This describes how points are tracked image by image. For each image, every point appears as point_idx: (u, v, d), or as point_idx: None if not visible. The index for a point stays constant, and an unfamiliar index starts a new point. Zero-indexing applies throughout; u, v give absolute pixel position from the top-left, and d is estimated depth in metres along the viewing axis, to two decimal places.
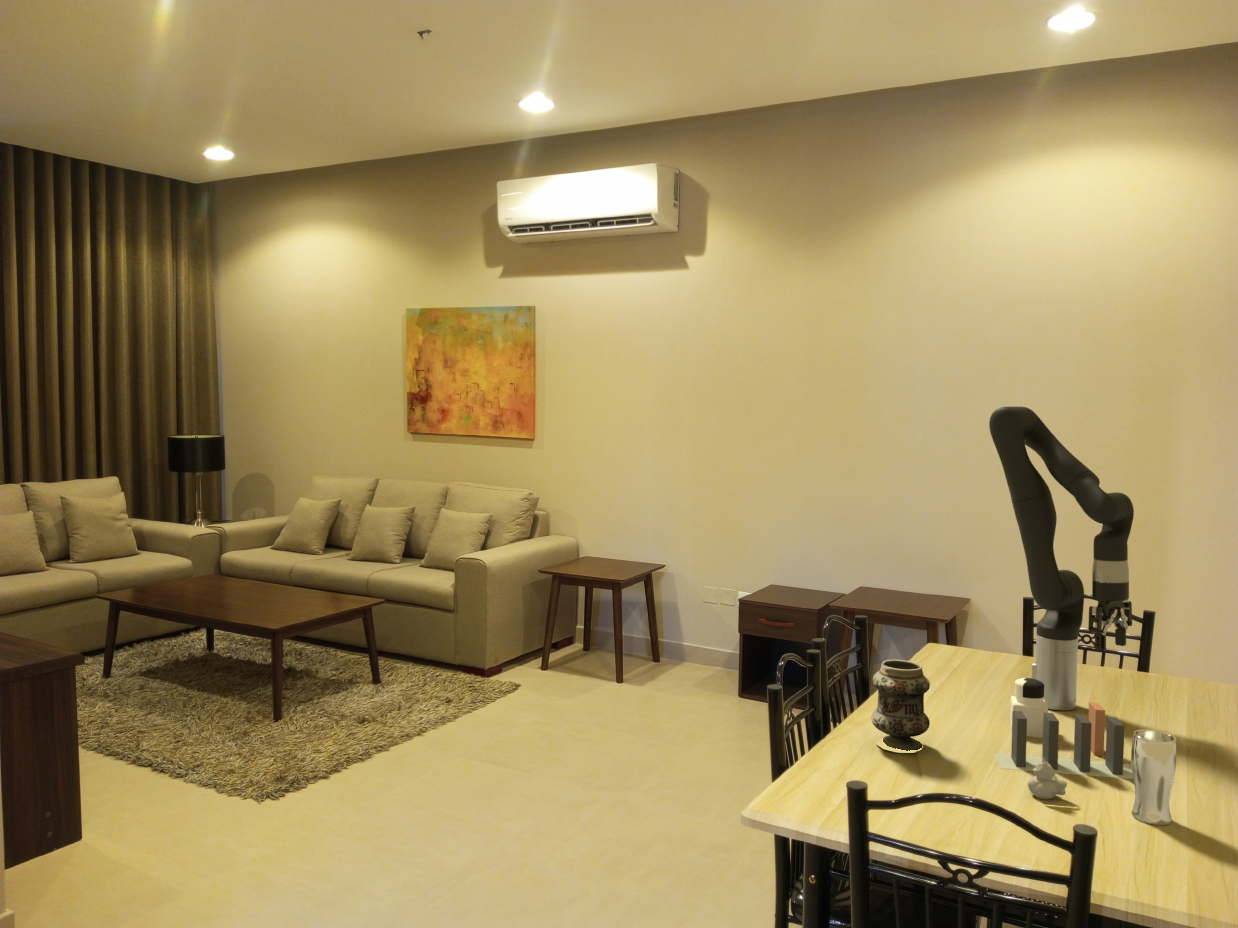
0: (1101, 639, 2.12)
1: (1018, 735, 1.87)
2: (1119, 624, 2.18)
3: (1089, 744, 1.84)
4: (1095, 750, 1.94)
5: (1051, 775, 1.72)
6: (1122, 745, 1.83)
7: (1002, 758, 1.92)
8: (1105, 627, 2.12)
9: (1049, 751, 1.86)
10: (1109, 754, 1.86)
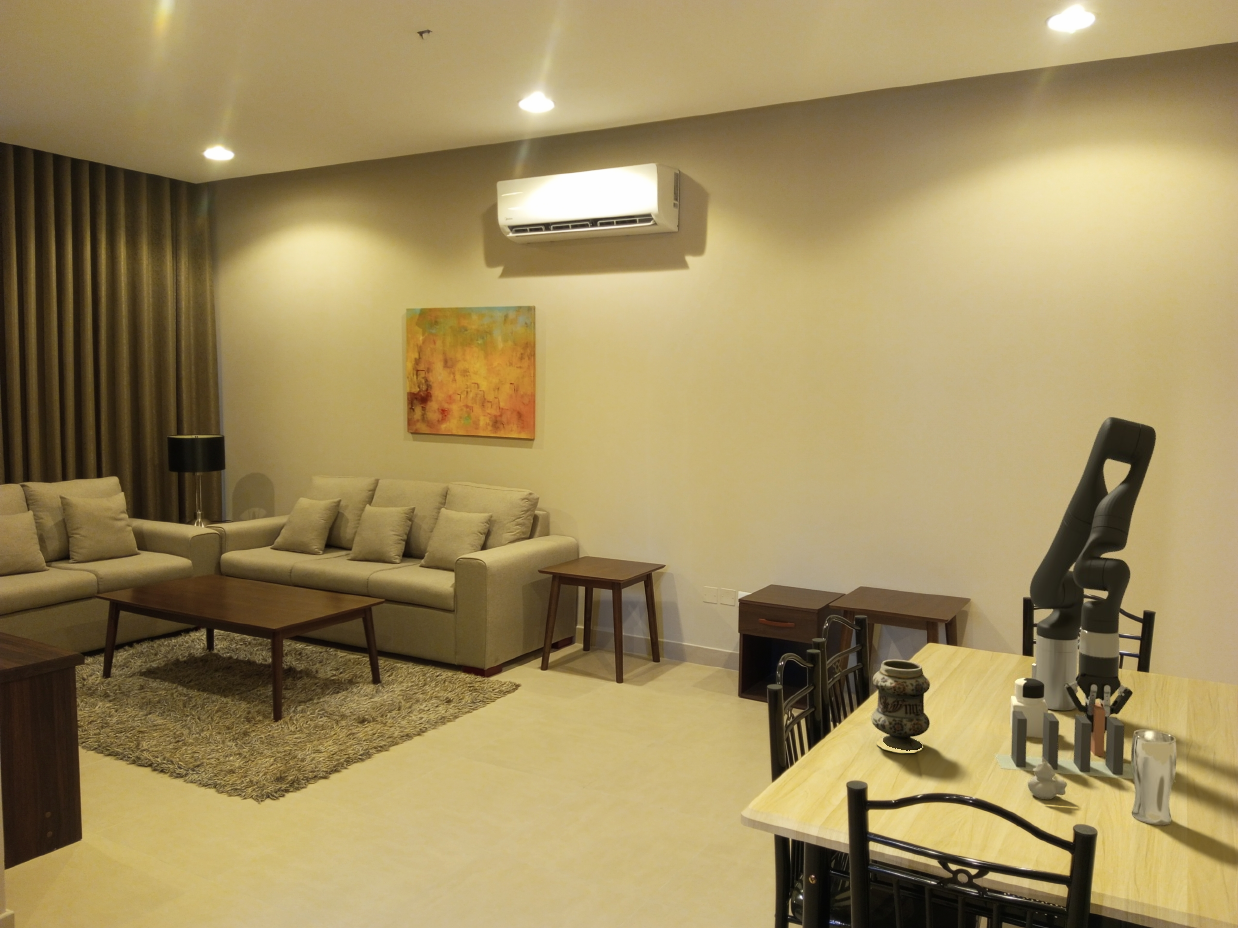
0: None
1: (1018, 735, 1.87)
2: None
3: (1089, 744, 1.84)
4: (1095, 750, 1.94)
5: (1051, 775, 1.72)
6: (1122, 745, 1.83)
7: (1002, 758, 1.92)
8: None
9: (1049, 751, 1.86)
10: (1109, 754, 1.86)
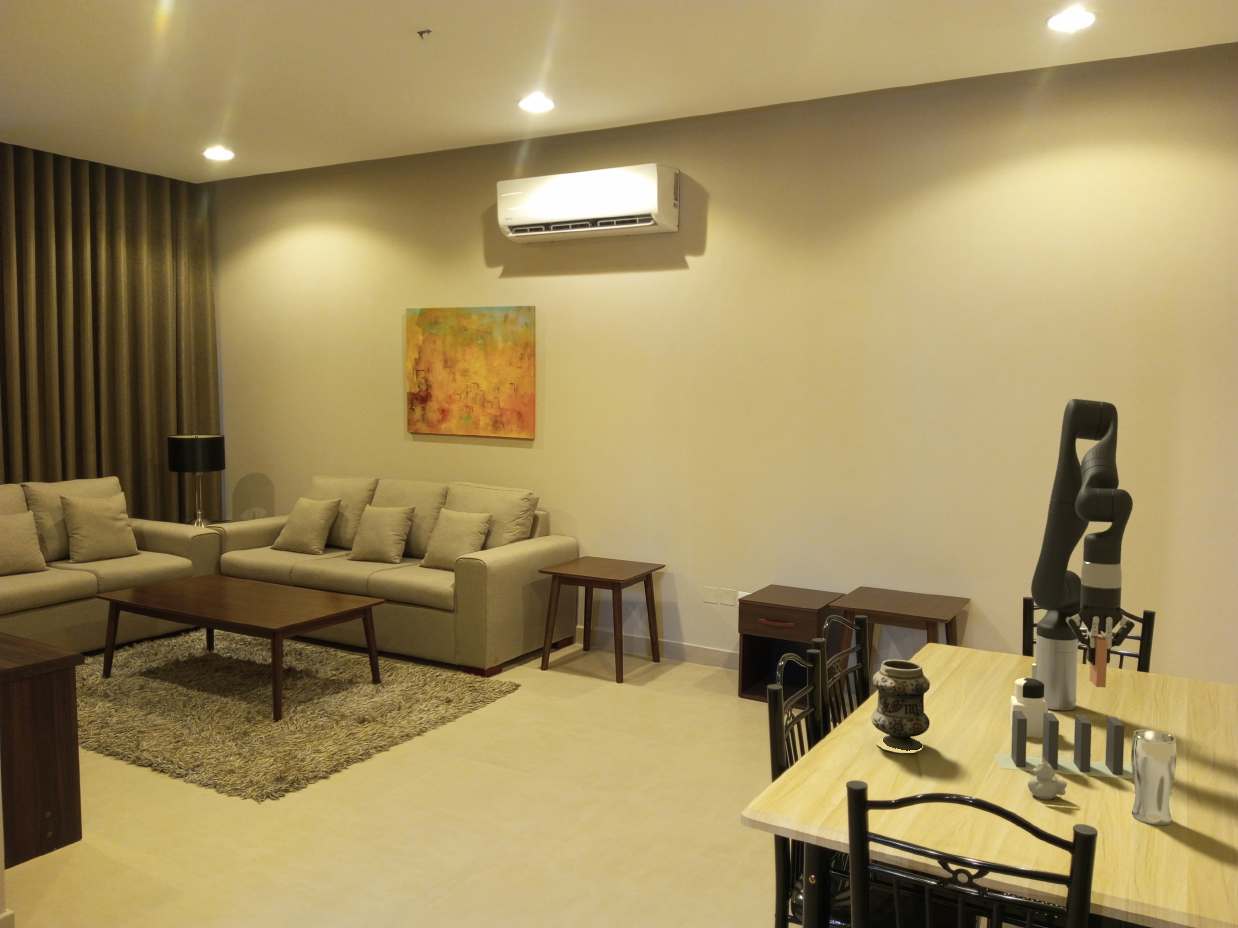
0: None
1: (1018, 735, 1.87)
2: None
3: (1089, 744, 1.84)
4: (1097, 680, 1.93)
5: (1051, 775, 1.72)
6: (1122, 745, 1.83)
7: (1002, 758, 1.92)
8: None
9: (1049, 751, 1.86)
10: (1109, 754, 1.86)
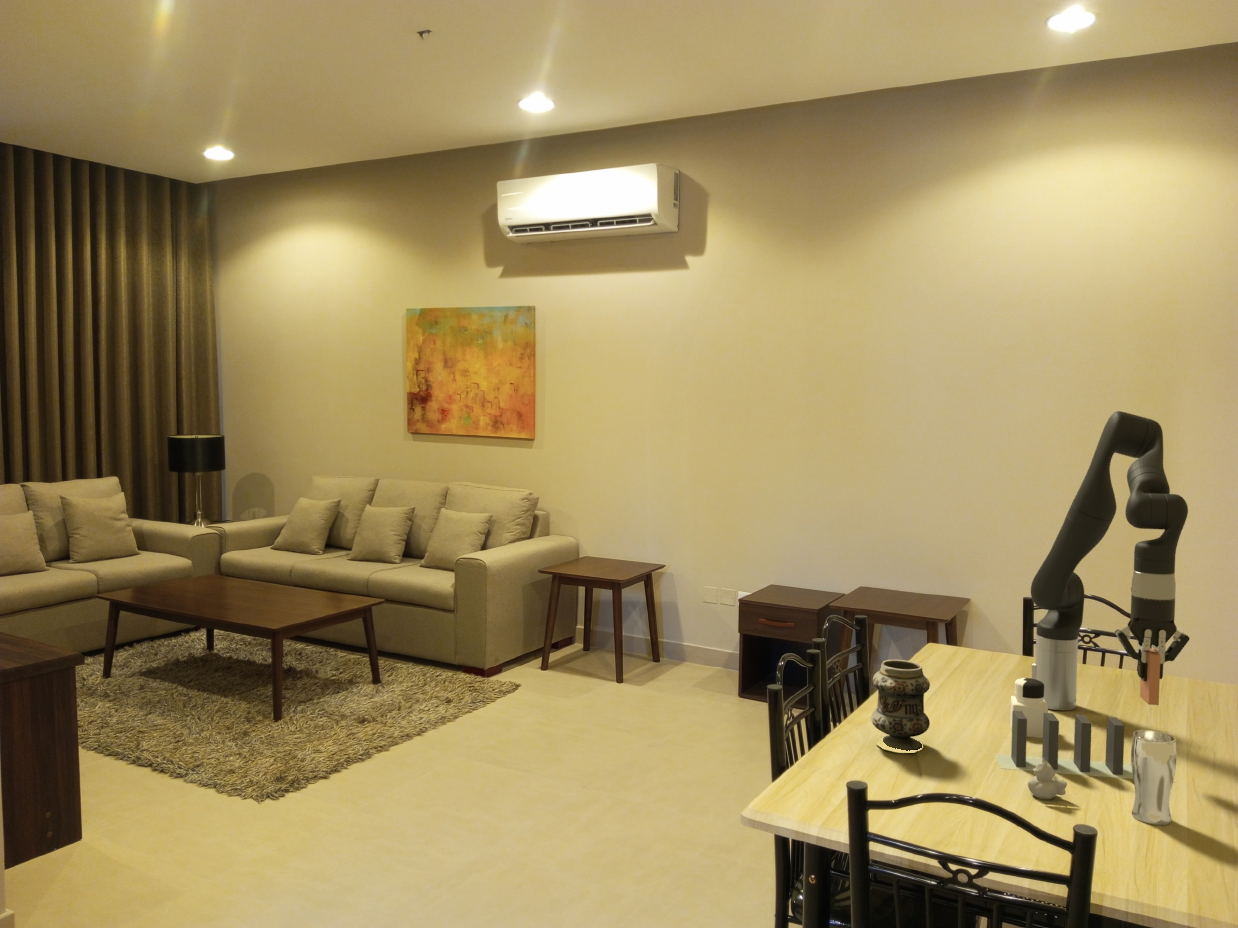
0: None
1: (1018, 735, 1.87)
2: None
3: (1089, 744, 1.84)
4: (1149, 698, 1.82)
5: (1051, 775, 1.72)
6: (1122, 745, 1.83)
7: (1002, 758, 1.92)
8: None
9: (1049, 751, 1.86)
10: (1109, 754, 1.86)
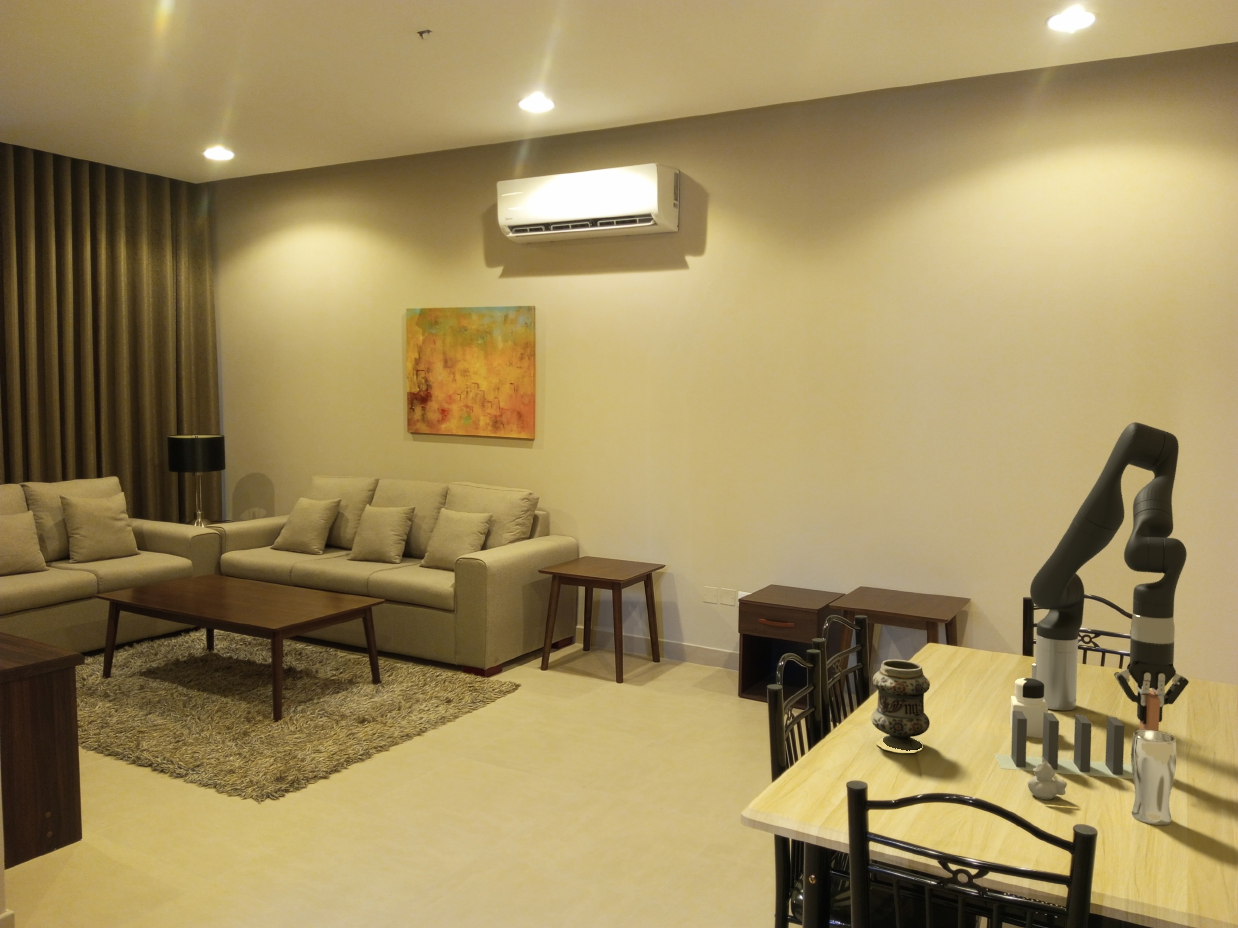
0: None
1: (1018, 735, 1.87)
2: None
3: (1089, 744, 1.84)
4: None
5: (1051, 775, 1.72)
6: (1122, 745, 1.83)
7: (1002, 758, 1.92)
8: None
9: (1049, 751, 1.86)
10: (1109, 754, 1.86)
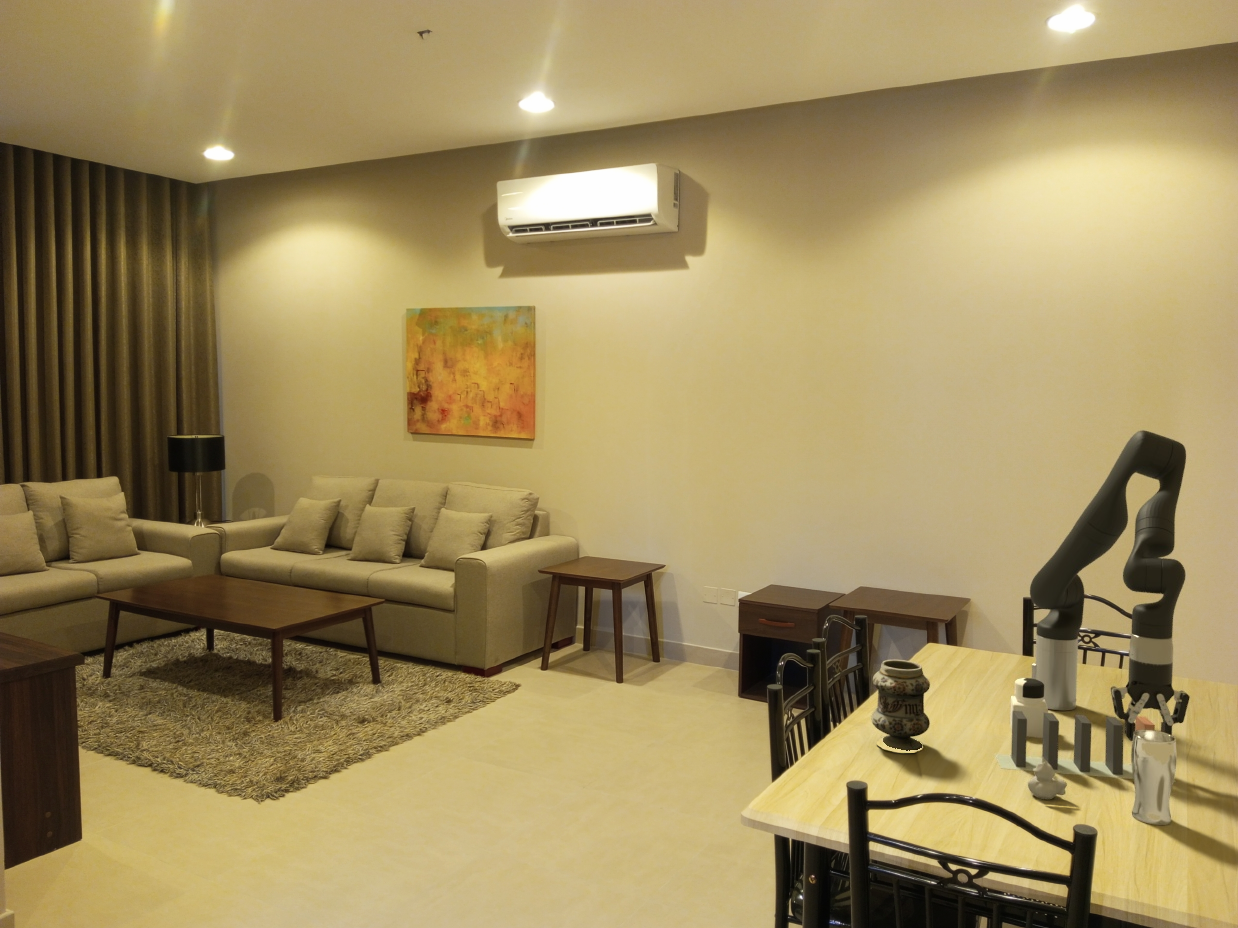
0: None
1: (1018, 735, 1.87)
2: None
3: (1089, 744, 1.84)
4: None
5: (1051, 775, 1.72)
6: (1121, 745, 1.83)
7: (1002, 758, 1.92)
8: None
9: (1049, 751, 1.86)
10: (1108, 754, 1.86)
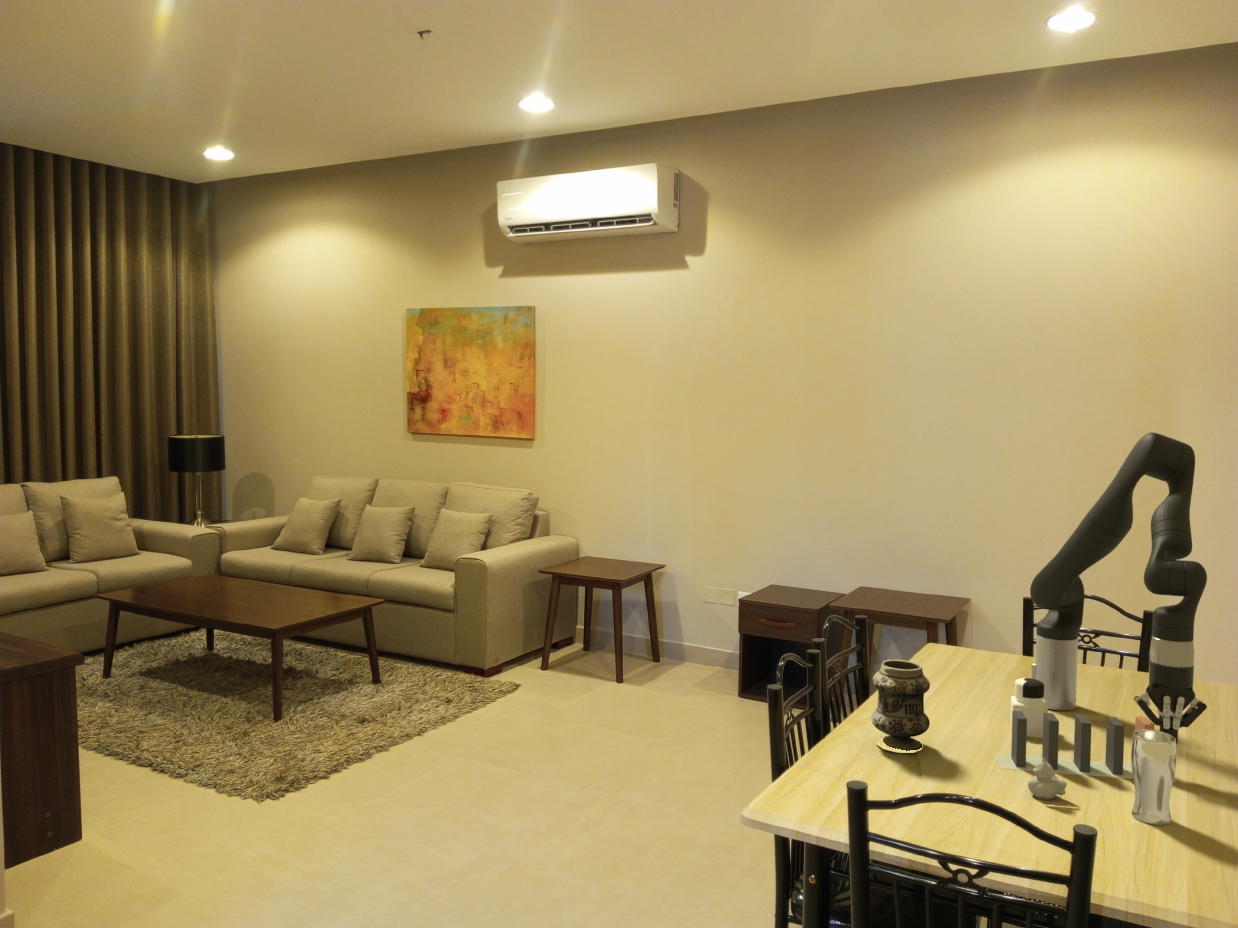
0: None
1: (1018, 735, 1.87)
2: None
3: (1089, 744, 1.84)
4: None
5: (1051, 775, 1.72)
6: (1122, 745, 1.83)
7: (1002, 758, 1.92)
8: None
9: (1049, 751, 1.86)
10: (1109, 754, 1.86)
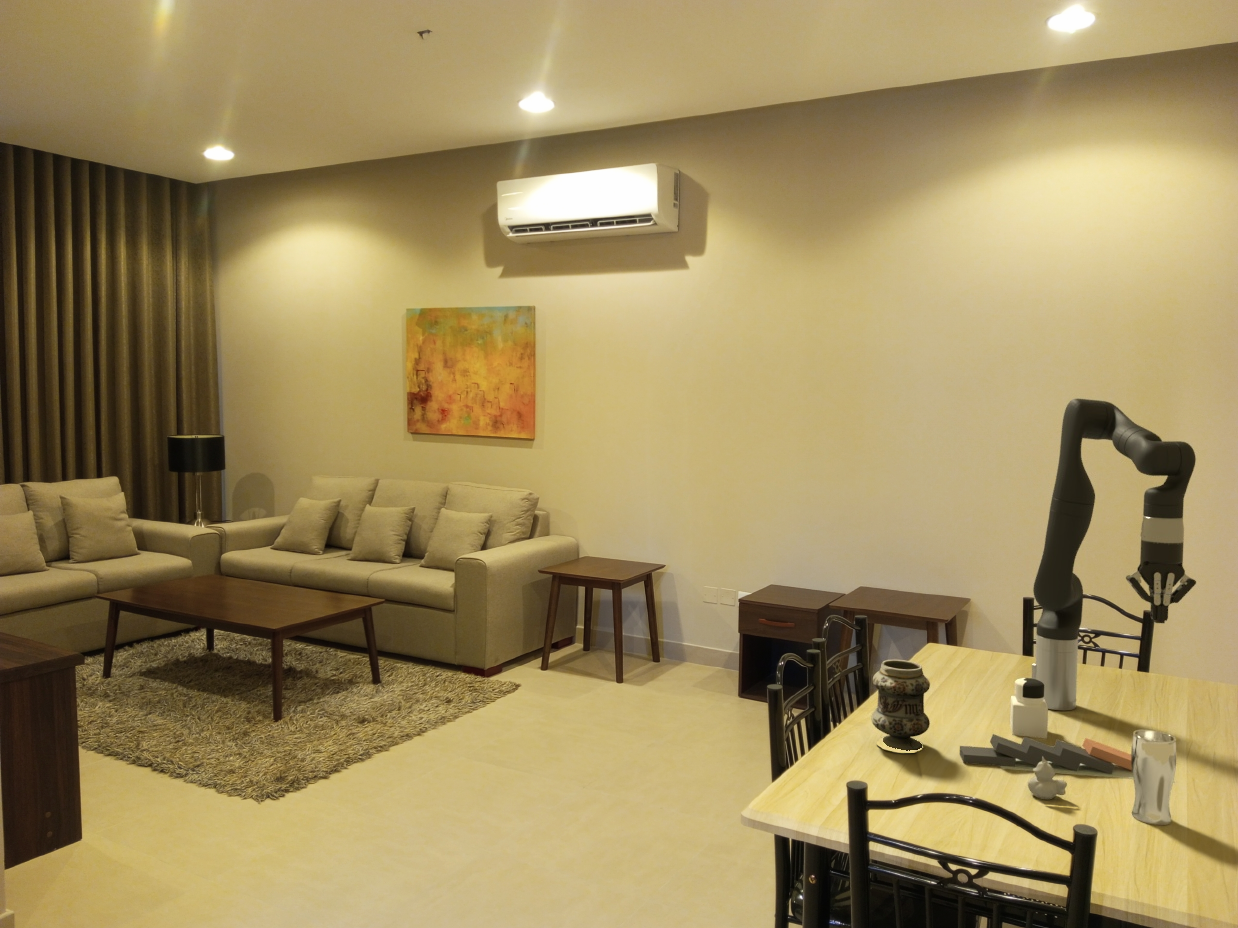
0: None
1: (981, 762, 1.89)
2: None
3: (1051, 753, 1.86)
4: None
5: (1051, 775, 1.72)
6: (1083, 756, 1.85)
7: None
8: None
9: (1026, 761, 1.87)
10: None
